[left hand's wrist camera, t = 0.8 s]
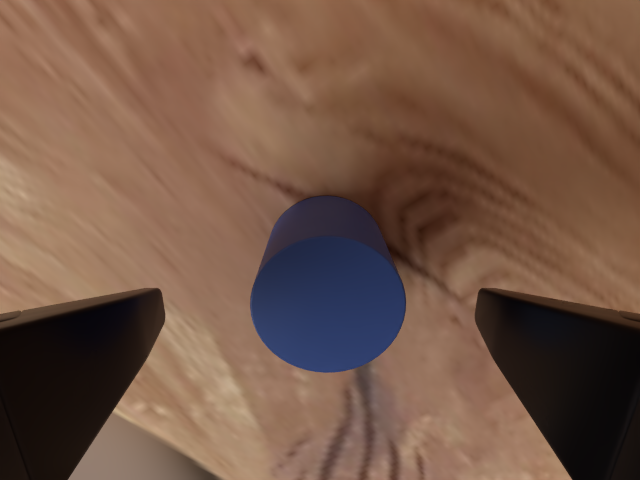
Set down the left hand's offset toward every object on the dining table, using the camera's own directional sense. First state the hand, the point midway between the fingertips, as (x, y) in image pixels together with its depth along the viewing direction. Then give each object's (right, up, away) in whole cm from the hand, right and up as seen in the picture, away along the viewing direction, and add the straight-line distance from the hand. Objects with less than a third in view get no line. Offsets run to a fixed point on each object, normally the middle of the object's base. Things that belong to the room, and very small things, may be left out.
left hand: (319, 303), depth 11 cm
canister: (0, +1, +4) cm, 4 cm away
